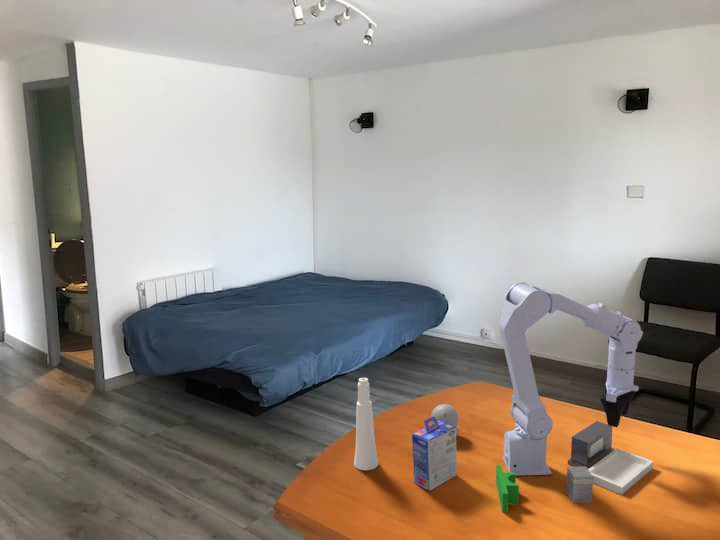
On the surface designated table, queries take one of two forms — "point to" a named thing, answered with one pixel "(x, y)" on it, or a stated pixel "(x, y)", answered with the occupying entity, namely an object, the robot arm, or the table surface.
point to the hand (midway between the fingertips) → (617, 419)
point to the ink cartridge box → (434, 454)
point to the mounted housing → (591, 445)
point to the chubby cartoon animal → (446, 415)
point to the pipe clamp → (506, 488)
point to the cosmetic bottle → (365, 430)
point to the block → (579, 484)
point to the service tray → (620, 470)
